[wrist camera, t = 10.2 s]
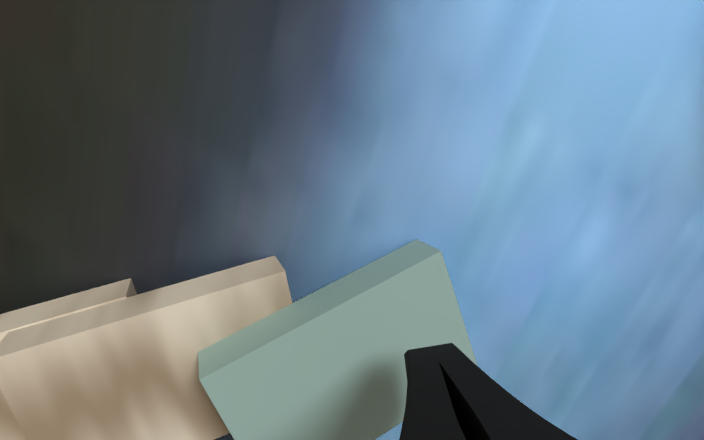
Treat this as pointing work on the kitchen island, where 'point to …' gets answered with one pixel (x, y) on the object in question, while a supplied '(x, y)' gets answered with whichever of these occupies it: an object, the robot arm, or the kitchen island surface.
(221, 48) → the kitchen island surface
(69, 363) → the domino
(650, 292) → the kitchen island surface
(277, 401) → the domino
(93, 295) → the domino
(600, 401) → the kitchen island surface
